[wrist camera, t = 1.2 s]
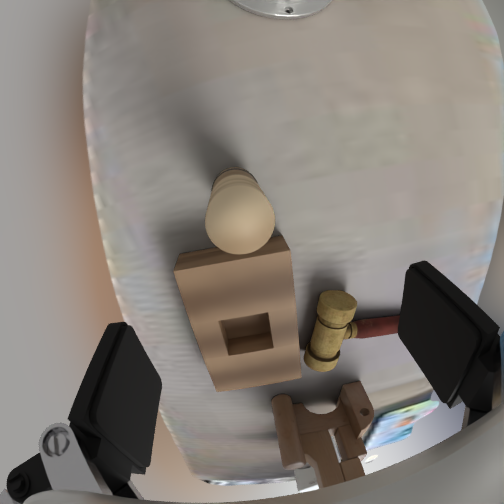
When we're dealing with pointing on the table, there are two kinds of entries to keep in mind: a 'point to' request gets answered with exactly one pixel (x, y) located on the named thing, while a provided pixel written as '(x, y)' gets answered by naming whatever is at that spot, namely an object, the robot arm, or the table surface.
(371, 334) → the gavel
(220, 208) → the wooden pepper mill
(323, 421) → the wooden toy
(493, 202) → the table surface
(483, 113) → the table surface
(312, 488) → the supplement box
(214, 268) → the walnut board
